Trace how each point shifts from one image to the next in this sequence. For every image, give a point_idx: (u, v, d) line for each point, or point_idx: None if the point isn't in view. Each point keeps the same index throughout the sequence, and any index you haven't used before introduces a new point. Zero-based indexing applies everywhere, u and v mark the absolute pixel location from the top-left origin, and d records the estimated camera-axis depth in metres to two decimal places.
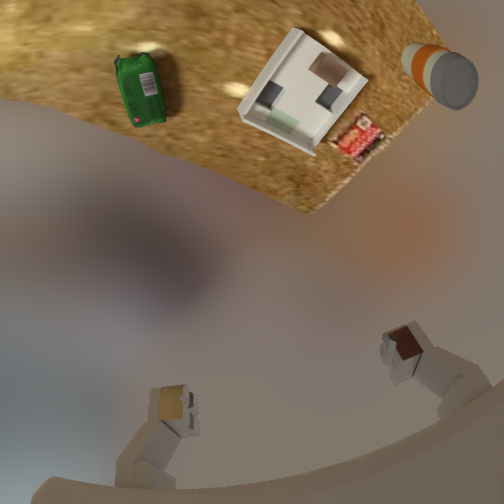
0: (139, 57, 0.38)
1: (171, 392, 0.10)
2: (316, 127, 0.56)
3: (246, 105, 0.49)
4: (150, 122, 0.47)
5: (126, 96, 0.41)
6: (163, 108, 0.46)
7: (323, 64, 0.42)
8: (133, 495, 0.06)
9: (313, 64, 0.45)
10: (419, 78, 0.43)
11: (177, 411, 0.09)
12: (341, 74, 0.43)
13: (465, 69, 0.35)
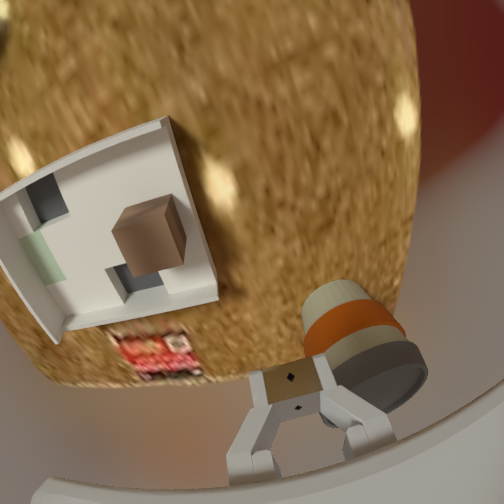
0: None
1: (273, 373, 0.10)
2: (88, 306, 0.29)
3: (0, 193, 0.20)
4: None
5: None
6: None
7: (139, 219, 0.21)
8: (133, 495, 0.06)
9: (137, 206, 0.24)
10: (313, 349, 0.29)
11: (288, 391, 0.09)
12: (162, 262, 0.22)
13: (407, 379, 0.25)
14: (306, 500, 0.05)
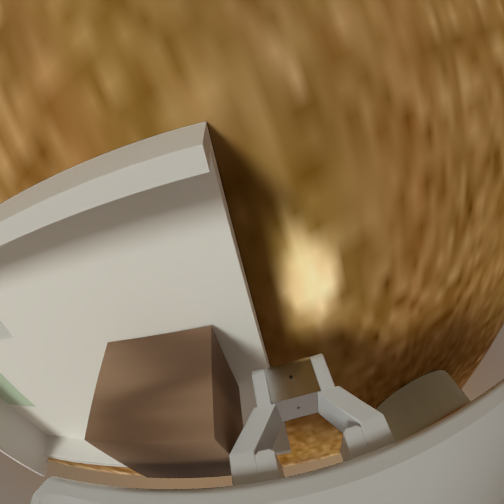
0: None
1: (276, 372, 0.10)
2: (76, 434, 0.16)
3: None
4: None
5: None
6: None
7: (147, 426, 0.07)
8: (133, 495, 0.06)
9: (133, 352, 0.10)
10: None
11: (291, 390, 0.09)
12: (205, 473, 0.09)
13: None
14: (306, 500, 0.05)
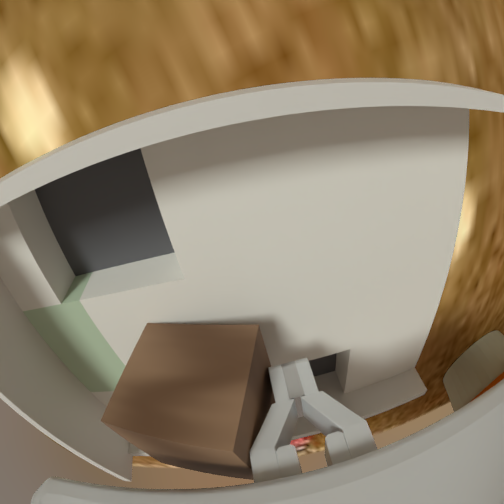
0: None
1: (293, 368, 0.10)
2: None
3: None
4: None
5: None
6: None
7: (166, 421, 0.07)
8: (133, 495, 0.06)
9: (171, 338, 0.10)
10: None
11: (309, 385, 0.09)
12: (219, 472, 0.09)
13: None
14: (306, 500, 0.05)
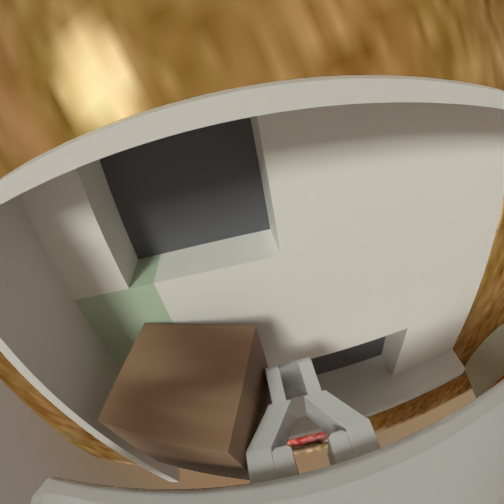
0: None
1: (289, 369, 0.10)
2: None
3: (23, 166, 0.06)
4: None
5: None
6: None
7: (162, 422, 0.07)
8: (133, 495, 0.06)
9: (169, 338, 0.10)
10: None
11: (305, 386, 0.09)
12: (215, 472, 0.09)
13: None
14: (306, 500, 0.05)
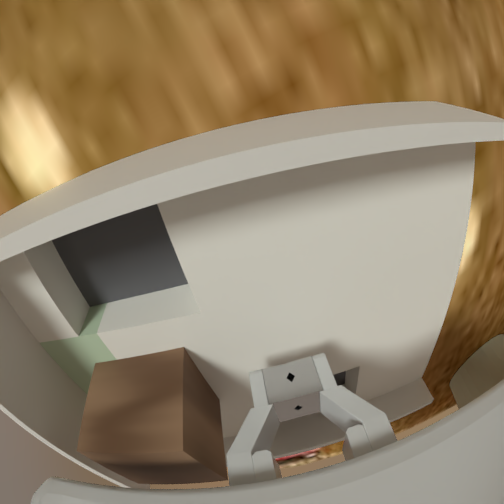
0: None
1: (273, 373, 0.10)
2: None
3: None
4: None
5: None
6: None
7: (127, 438, 0.08)
8: (133, 495, 0.06)
9: (117, 372, 0.10)
10: None
11: (288, 391, 0.09)
12: (187, 480, 0.09)
13: None
14: (306, 500, 0.05)
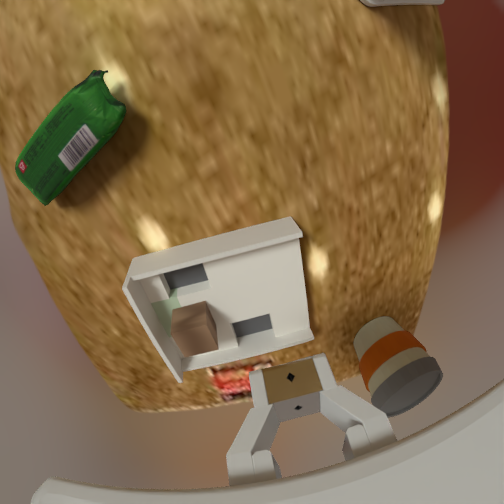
0: (113, 105, 0.23)
1: (273, 373, 0.10)
2: None
3: (144, 270, 0.31)
4: (29, 188, 0.24)
5: (46, 127, 0.21)
6: (56, 193, 0.25)
7: (189, 325, 0.33)
8: (133, 495, 0.06)
9: (182, 310, 0.36)
10: (370, 366, 0.41)
11: (288, 391, 0.09)
12: (204, 349, 0.34)
13: (429, 381, 0.37)
14: (306, 500, 0.05)
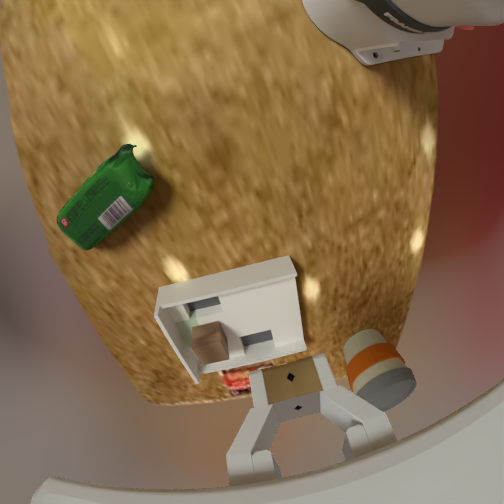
0: (144, 178, 0.31)
1: (273, 373, 0.10)
2: None
3: (171, 300, 0.40)
4: (71, 239, 0.33)
5: (85, 194, 0.29)
6: (96, 244, 0.34)
7: (206, 342, 0.42)
8: (133, 495, 0.06)
9: (200, 328, 0.44)
10: (354, 372, 0.49)
11: (288, 391, 0.09)
12: (218, 359, 0.43)
13: (405, 387, 0.45)
14: (306, 500, 0.05)
